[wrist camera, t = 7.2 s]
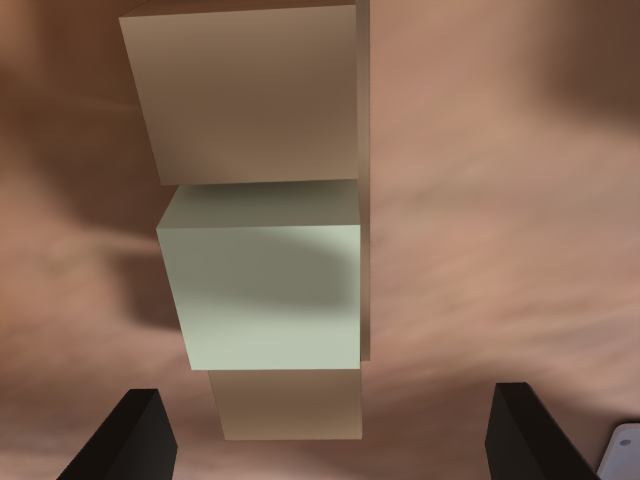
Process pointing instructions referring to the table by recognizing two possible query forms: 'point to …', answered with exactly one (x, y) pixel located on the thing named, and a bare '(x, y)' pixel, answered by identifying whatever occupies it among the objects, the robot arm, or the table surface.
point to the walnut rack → (263, 154)
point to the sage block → (266, 273)
